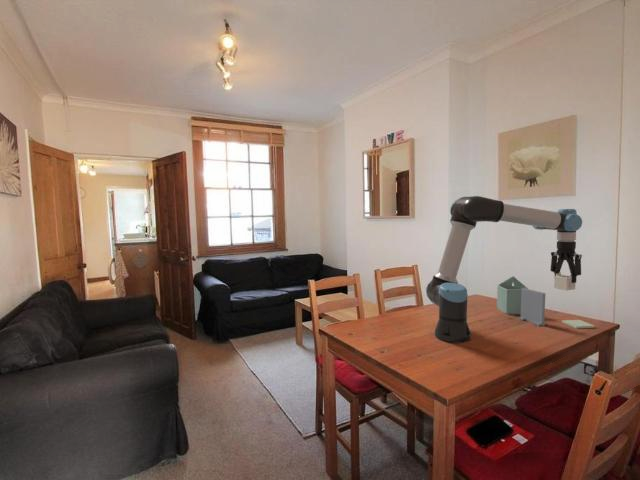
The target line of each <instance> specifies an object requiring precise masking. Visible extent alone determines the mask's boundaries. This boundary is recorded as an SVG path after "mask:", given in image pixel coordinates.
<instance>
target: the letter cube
mask: <svg viewBox="0 0 640 480" xmlns="http://www.w3.org/2000/svg"><path fill="white" fill-rule="evenodd" d="M569 276H570V275H564V274H561V275H560V276H555V275H554V277H555V279H554V285H553V287H554V289H557V290H561V291H573V290H575V289H572V290H570V289H569Z"/></svg>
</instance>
